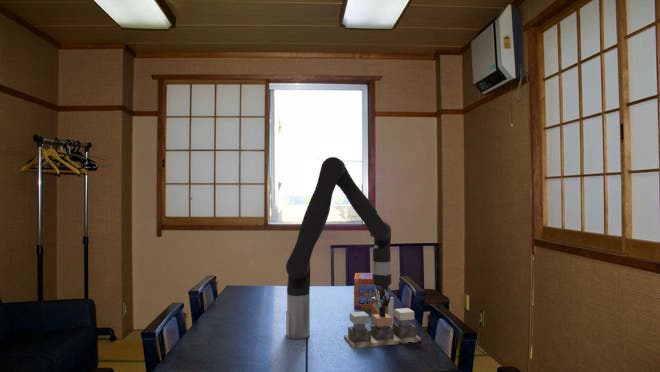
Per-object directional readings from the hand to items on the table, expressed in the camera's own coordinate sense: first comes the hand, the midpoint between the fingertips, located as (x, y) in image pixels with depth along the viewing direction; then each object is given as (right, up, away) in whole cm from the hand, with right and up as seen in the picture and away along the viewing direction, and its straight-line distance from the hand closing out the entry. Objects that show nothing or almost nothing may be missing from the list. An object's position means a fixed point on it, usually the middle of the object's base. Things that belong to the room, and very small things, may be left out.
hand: (382, 316), depth 183 cm
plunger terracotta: (0, -7, 0) cm, 7 cm away
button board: (0, -10, 0) cm, 10 cm away
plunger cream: (+9, -5, +2) cm, 11 cm away
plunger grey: (-9, -6, -2) cm, 11 cm away
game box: (0, -10, +52) cm, 53 cm away
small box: (+2, -10, +16) cm, 19 cm away
